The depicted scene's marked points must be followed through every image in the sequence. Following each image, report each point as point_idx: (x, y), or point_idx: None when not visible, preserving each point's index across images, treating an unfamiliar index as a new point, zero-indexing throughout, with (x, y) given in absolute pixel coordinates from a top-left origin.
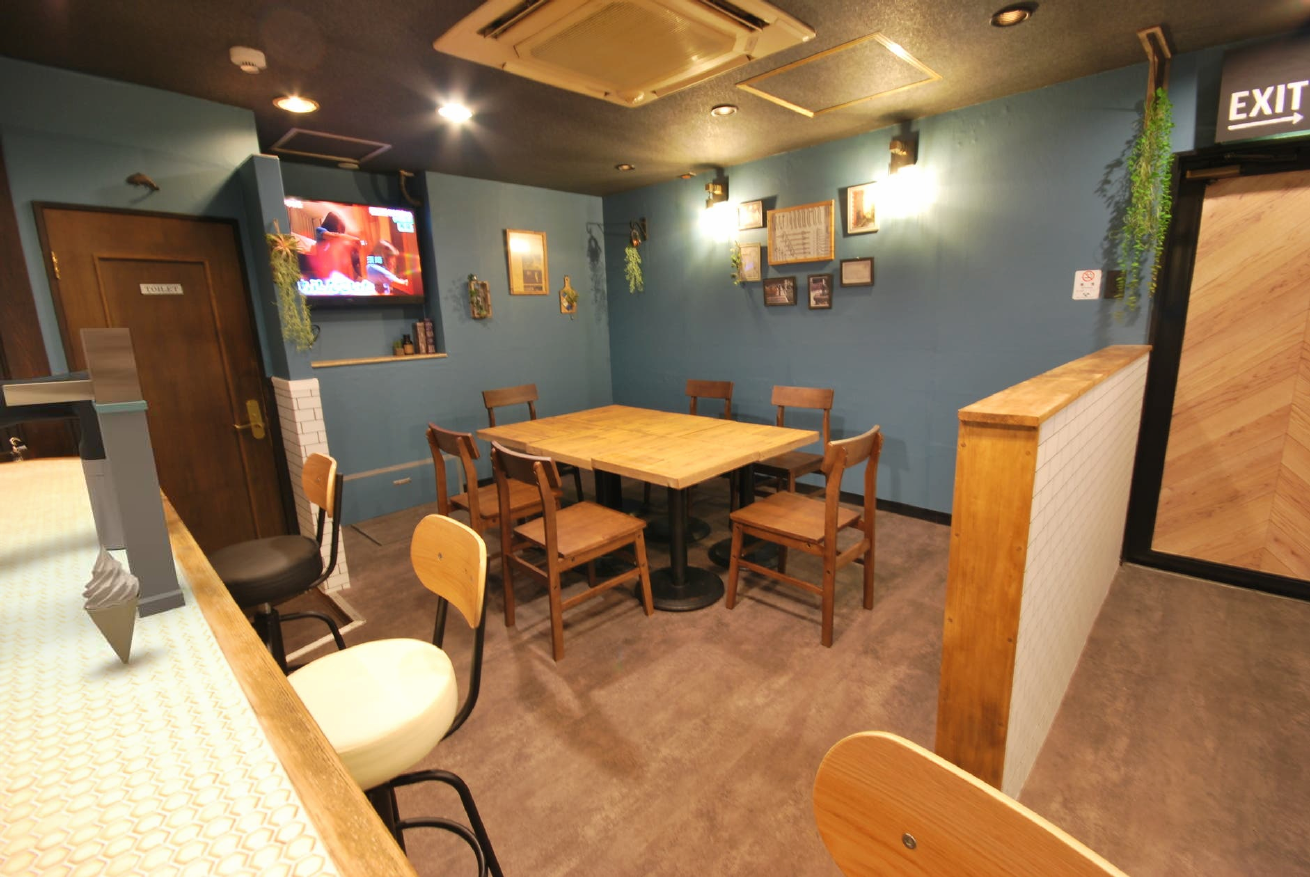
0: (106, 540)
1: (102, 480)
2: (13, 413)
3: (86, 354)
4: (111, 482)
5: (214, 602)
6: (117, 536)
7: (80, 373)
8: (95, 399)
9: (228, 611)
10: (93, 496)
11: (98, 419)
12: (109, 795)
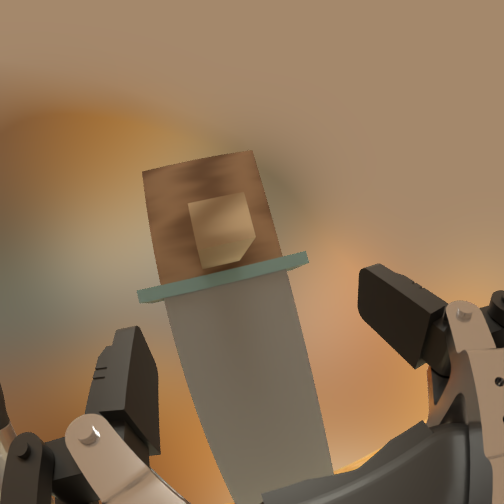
0: None
1: (3, 462)
2: None
3: (243, 186)
4: (208, 427)
5: (345, 470)
6: None
7: None
8: (242, 260)
9: (374, 452)
10: (1, 484)
11: (187, 316)
12: None
